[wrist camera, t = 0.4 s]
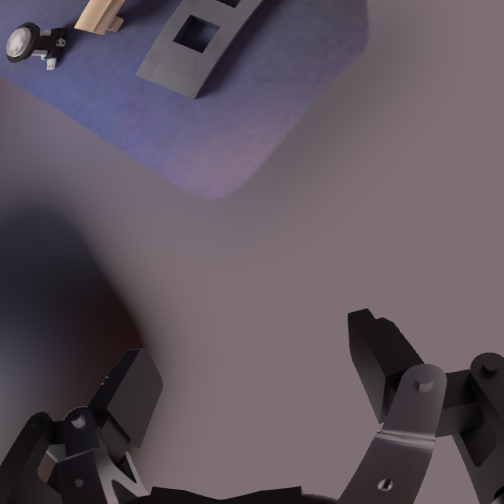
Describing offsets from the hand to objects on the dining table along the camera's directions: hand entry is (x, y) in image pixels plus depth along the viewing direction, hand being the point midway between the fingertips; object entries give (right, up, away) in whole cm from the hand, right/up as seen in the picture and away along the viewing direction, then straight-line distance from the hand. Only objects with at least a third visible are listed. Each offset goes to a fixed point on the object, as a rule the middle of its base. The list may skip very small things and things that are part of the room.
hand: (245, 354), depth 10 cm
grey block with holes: (-4, +32, +13) cm, 35 cm away
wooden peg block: (-16, +36, +10) cm, 40 cm away
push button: (-27, +32, +12) cm, 44 cm away
